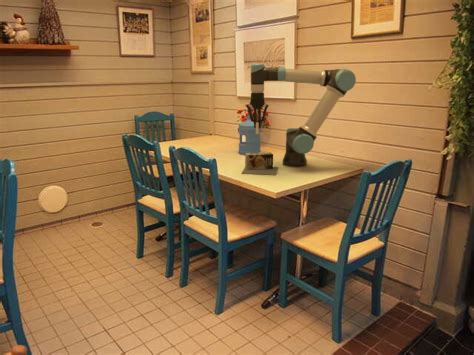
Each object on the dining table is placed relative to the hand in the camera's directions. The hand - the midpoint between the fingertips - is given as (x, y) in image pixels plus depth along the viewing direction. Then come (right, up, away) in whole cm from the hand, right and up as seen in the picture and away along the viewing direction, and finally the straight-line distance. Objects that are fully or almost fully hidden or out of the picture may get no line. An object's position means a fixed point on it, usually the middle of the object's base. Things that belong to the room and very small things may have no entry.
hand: (257, 133), depth 222 cm
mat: (+2, -21, +6) cm, 22 cm away
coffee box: (-7, -16, +7) cm, 19 cm away
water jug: (-3, -8, +53) cm, 54 cm away
